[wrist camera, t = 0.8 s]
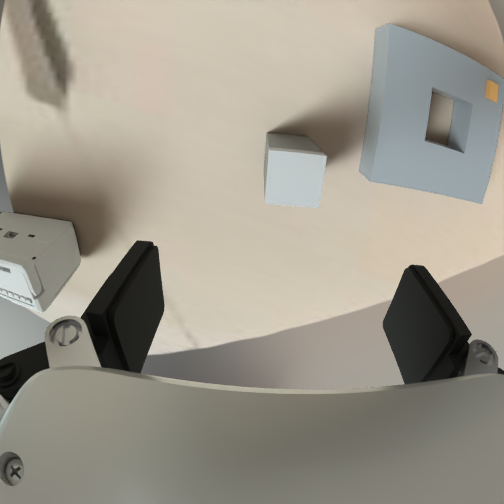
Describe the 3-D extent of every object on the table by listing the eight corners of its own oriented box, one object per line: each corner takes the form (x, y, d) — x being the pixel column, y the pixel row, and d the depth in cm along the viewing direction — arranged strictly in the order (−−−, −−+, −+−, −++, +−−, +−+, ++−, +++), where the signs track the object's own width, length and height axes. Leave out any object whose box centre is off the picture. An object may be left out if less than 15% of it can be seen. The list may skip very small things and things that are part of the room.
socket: (375, 29, 22) (392, 21, 18) (486, 76, 22) (509, 79, 18) (358, 171, 32) (372, 184, 28) (466, 192, 32) (485, 206, 28)
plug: (266, 132, 30) (269, 150, 21) (307, 136, 30) (327, 156, 21) (263, 171, 32) (265, 203, 24) (303, 174, 32) (318, 208, 24)
